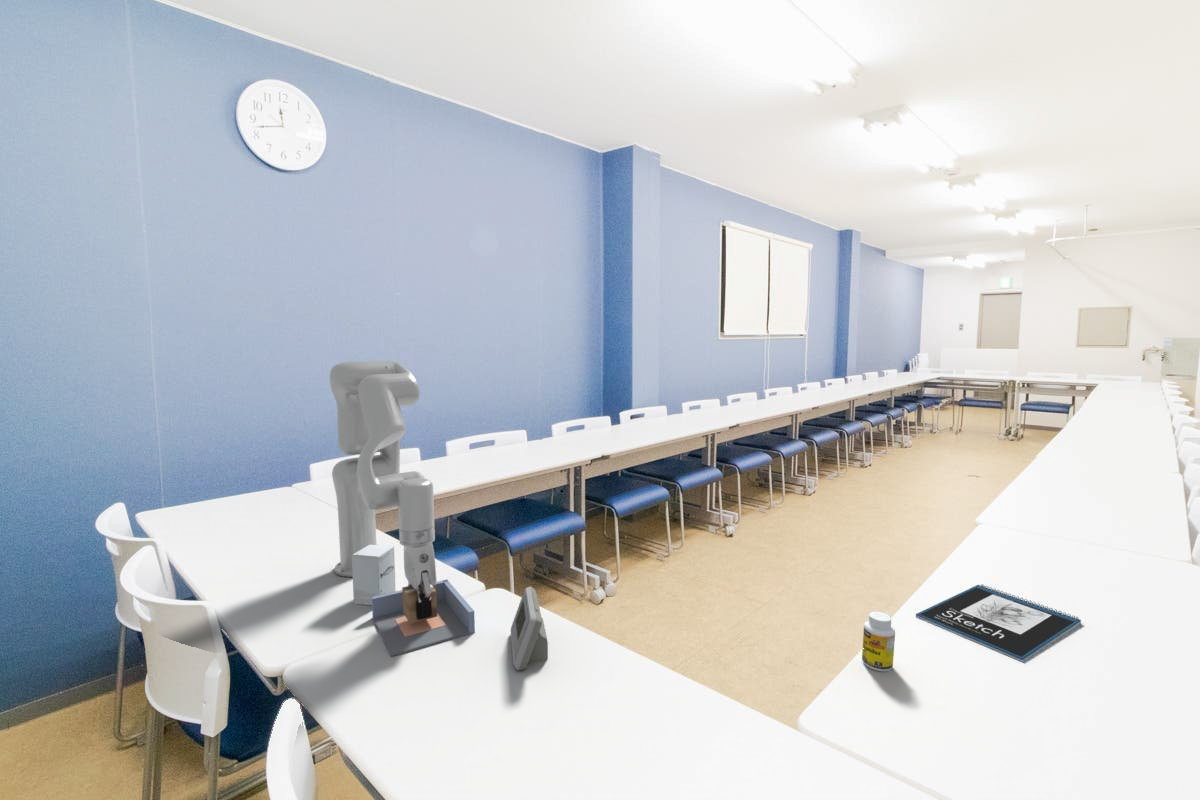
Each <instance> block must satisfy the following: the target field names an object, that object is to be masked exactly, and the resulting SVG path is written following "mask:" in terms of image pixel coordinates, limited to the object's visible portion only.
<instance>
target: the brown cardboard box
mask: <svg viewBox="0 0 1200 800" xmlns="http://www.w3.org/2000/svg"><path fill="white" fill-rule="evenodd" d="M429 583H430V582H429ZM419 587H423V584H421V585H419ZM430 587H431V606H432V616H431V617H427V618H423V619H420V620H418V619H417V615H416V602H417V593H416V590H415V589H414V588H413V587H412V586H408V585H407V586H404V587H403V586H402V587H401V590H402V595H403V613H404V615H405V616H406V618H407V620H408V621H409V623H410V624H411V623H415V622H419V621H422V620H426V619H430V618H433V617H437V595H436V590H435V589H434V587H433V586H432V585H431V584H430ZM423 591H424V590H420V595H421V594H422V593H423Z"/></svg>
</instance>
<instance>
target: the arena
mask: <svg viewBox="0 0 1200 800" xmlns="http://www.w3.org/2000/svg"><path fill="white" fill-rule="evenodd" d="M433 587H434V589H435V590H436V595H437V617H433V618H430V619H426V620H422V621H419V622H415V623H411V624H410V623H409V621H408V620H407V618H406V616H405V615H404V613H403V595H402V589H401V590H397V591H396V592H391V593H387V594H383V595H379V596H374V597H372V605H371V612H372V614H371V615H372V619H373V621H375V622H374V624H375V623H376V624H375V626H376V625H377V626H376V627H378V628H377V630H378V632H379V634H380V633H381V634H380V636H381V635H382V636H381V638H382V637H383V638H382V640H383V639H384V640H383V642H384V644H386V645H385V646H387V647H386V649H387V648H388V649H387V651H388V650H389V651H388V653H389V652H390V653H389V655H390V657H391V658H393V657H396V656H395V655H397V656H399V655H398V654H400V655H404V654H406V653H410V652H413V651H418V650H420V649H423V648H428V647H431V646H433V645H437V644H441V643H444V642H448V641H451V640H455V639H457V638H461V637H464V636H467V635H471V634H475V633H476V631H475V630H476V629H475V628H476V627H475V623H476V622H475V610H474V608H473V607H472V606H471V605H470V603H468V602H467V601H466V599H465V598H464V597H463V596H462V595H461V594H460V593H459V592H458V590H457V589H456V588H455V587H454V586H453V585H452V583H451V582H450V581H449V579H442V580H439V581H437V584H436V586H433ZM392 656H393V657H392Z"/></svg>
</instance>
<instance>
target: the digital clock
mask: <svg viewBox="0 0 1200 800" xmlns="http://www.w3.org/2000/svg"><path fill="white" fill-rule="evenodd" d="M547 637H548V636H547V632H546V629H545V622H544V619H543V617H542V613H541V608H540V605H539V600H538V594H537V591H536V589H535V588H534V587H532V586H528V587H526V588H524V590H523V594H522V595H521V599H520V602H519V605H518V607H517V610H516V612H515V614H514V618H513V620H512V624H511V627H510V640H511V650H512V651H511V653H512V662H513V666H514V667H515V669H516V670H517V671H523V670H525V669H526V668H527V666H528V663H531V662H538V661H540V662H541V661H546V660H548V659H549V656H548V655H549V652H548V649H549V648H548V647H549V646H548V645H549V643H548V638H547Z"/></svg>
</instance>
